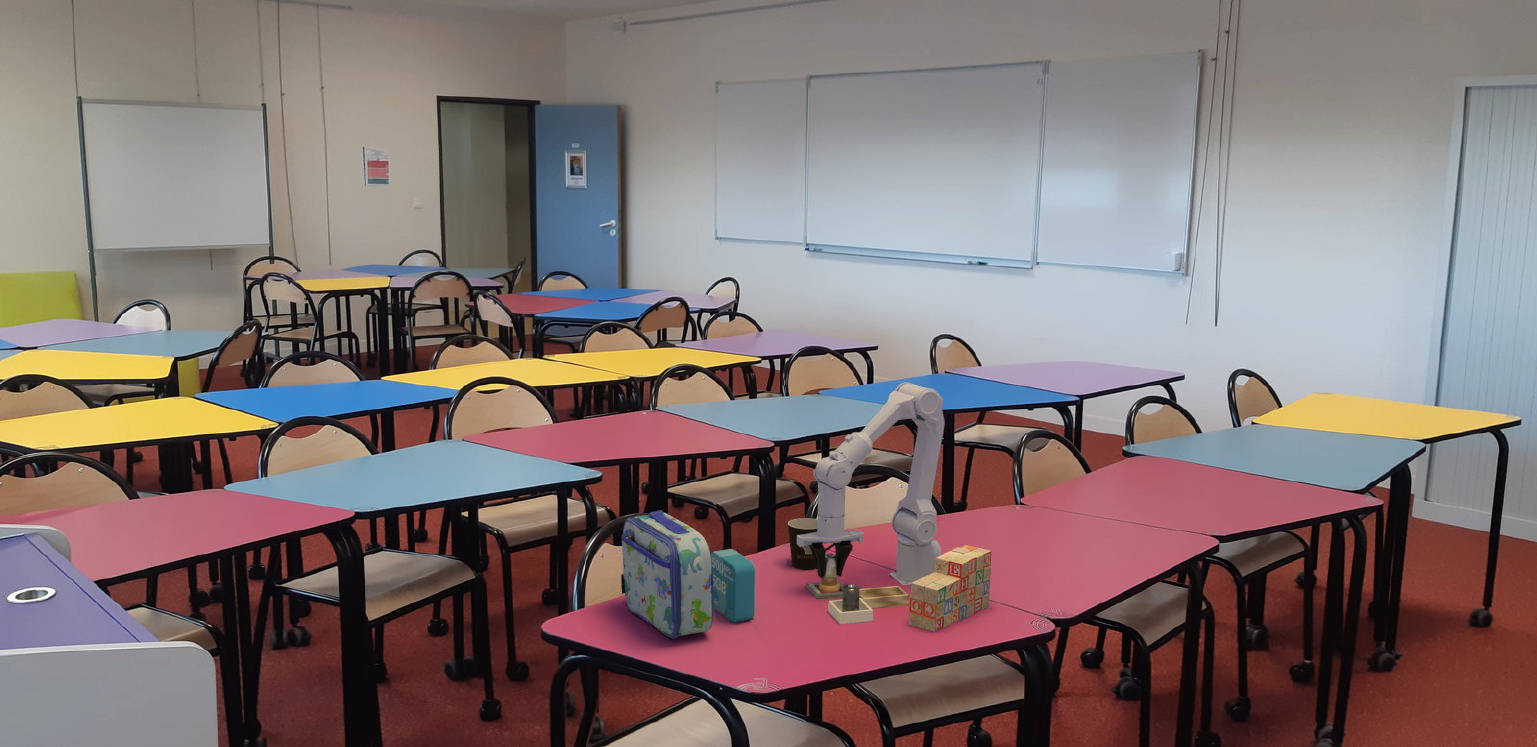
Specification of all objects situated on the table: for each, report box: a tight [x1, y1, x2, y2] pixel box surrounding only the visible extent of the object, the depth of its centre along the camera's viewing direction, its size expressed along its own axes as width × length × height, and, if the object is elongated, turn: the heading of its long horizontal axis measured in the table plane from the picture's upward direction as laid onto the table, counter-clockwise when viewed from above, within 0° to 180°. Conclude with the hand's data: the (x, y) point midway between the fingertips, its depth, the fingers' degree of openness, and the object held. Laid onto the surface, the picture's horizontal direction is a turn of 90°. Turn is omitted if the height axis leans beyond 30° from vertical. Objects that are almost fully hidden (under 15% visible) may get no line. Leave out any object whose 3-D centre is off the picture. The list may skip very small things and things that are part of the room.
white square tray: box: [827, 598, 874, 625], centre depth 221 cm, size 7×7×3 cm
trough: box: [859, 585, 910, 609], centre depth 229 cm, size 10×6×3 cm, turn 106°
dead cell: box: [841, 584, 861, 612], centre depth 221 cm, size 3×3×6 cm
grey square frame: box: [805, 580, 846, 600], centre depth 235 cm, size 8×8×2 cm
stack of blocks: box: [908, 544, 992, 633], centre depth 223 cm, size 21×6×12 cm, turn 140°
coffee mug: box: [787, 517, 835, 571], centre depth 252 cm, size 12×9×10 cm
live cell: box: [820, 552, 838, 586], centre depth 234 cm, size 3×3×6 cm
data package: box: [710, 548, 756, 623], centre depth 222 cm, size 12×4×12 cm, turn 27°
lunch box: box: [620, 509, 715, 639], centre depth 217 cm, size 26×11×21 cm, turn 29°
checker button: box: [818, 581, 841, 593], centre depth 235 cm, size 4×4×2 cm
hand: (829, 575), depth 235 cm, fingers closed on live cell, 3 cm apart
